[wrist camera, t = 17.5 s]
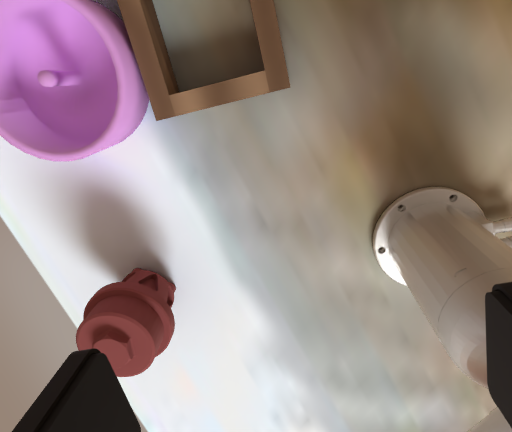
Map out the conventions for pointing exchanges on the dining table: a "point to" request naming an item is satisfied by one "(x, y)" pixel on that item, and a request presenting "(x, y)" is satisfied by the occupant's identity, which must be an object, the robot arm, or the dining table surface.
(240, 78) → the socket collar
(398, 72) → the dining table surface
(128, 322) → the mechanical component
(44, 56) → the container set
